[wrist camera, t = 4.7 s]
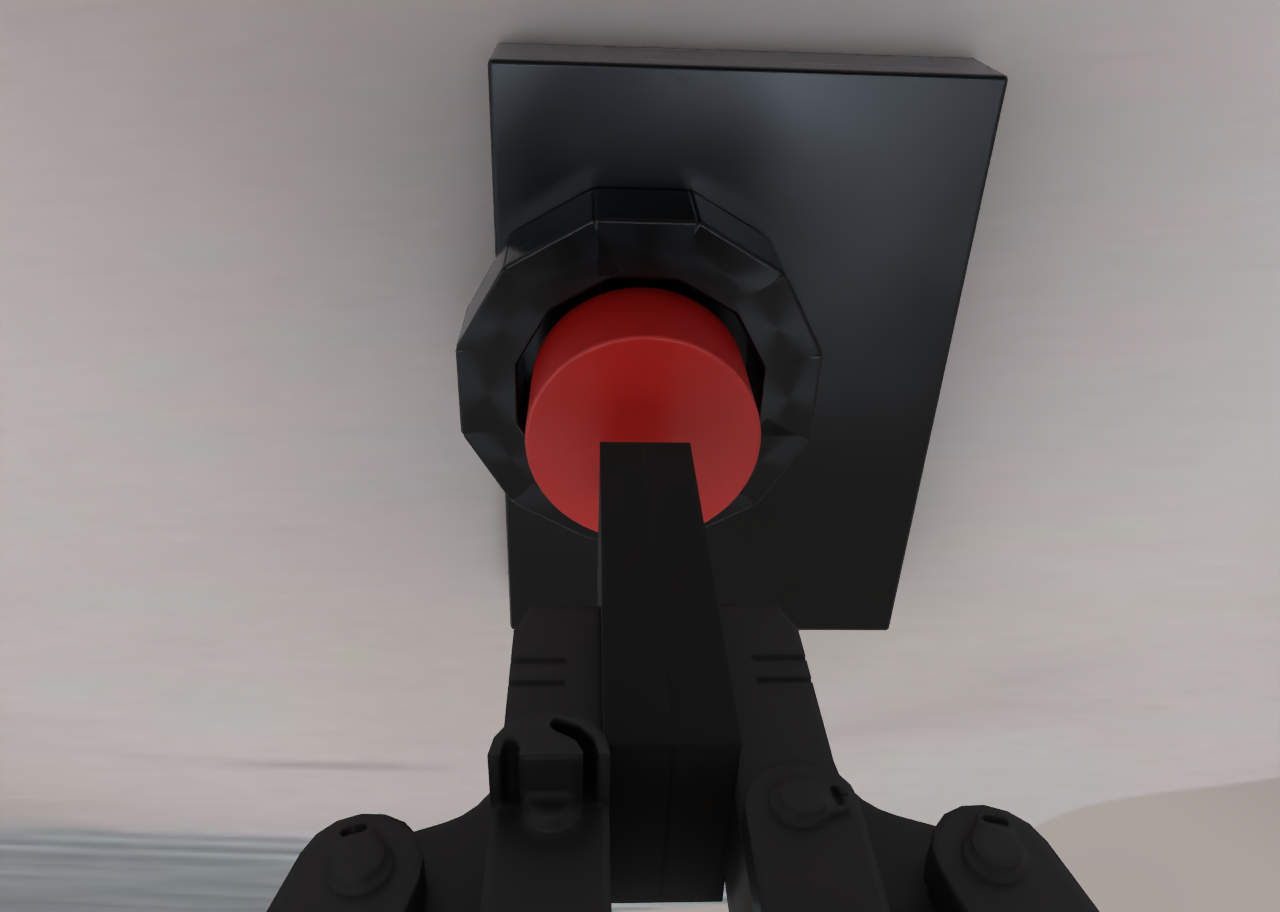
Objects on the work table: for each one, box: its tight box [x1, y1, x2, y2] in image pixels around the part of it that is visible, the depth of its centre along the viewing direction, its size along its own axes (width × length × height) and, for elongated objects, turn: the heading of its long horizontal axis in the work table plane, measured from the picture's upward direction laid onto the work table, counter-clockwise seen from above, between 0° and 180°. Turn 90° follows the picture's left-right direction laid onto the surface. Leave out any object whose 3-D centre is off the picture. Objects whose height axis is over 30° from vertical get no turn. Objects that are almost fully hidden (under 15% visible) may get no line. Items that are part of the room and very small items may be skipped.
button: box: [525, 287, 761, 532], centre depth 19 cm, size 4×4×2 cm
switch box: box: [456, 43, 1008, 630], centre depth 22 cm, size 14×11×4 cm
